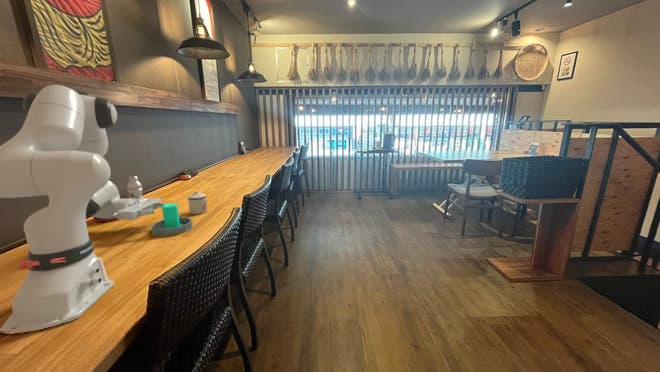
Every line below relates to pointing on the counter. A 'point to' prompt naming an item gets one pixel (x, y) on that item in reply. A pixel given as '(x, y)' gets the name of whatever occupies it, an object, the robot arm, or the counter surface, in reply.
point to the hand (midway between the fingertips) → (159, 208)
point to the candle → (171, 215)
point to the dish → (160, 230)
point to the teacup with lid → (197, 203)
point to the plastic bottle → (134, 187)
